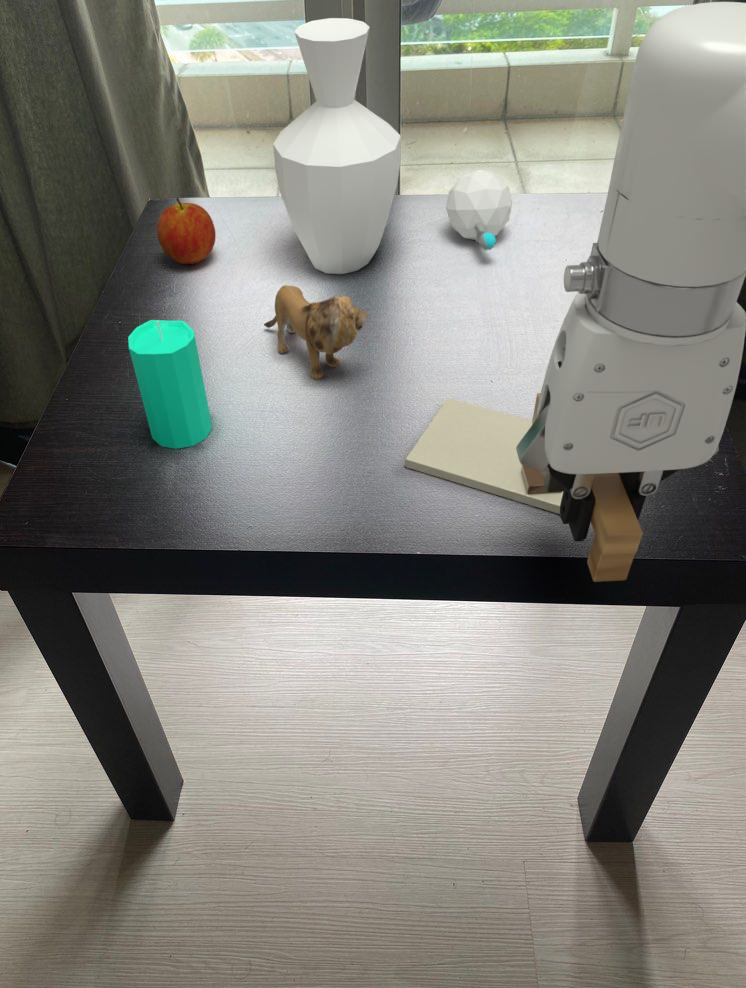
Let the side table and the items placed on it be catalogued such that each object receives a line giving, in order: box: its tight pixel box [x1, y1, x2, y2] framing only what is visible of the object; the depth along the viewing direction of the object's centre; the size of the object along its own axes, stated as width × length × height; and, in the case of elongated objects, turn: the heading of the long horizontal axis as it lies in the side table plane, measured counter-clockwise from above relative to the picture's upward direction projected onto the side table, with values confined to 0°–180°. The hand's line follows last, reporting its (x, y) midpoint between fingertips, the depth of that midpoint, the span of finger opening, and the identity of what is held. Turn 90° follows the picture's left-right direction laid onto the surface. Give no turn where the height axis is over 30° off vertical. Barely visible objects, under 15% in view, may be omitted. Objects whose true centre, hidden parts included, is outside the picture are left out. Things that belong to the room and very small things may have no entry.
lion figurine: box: [263, 284, 368, 380], centre depth 87 cm, size 15×5×9 cm, turn 44°
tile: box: [404, 397, 563, 515], centre depth 77 cm, size 16×10×1 cm, turn 63°
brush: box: [531, 392, 644, 583], centre depth 59 cm, size 14×5×5 cm, turn 3°
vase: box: [272, 17, 402, 275], centre depth 95 cm, size 14×14×25 cm
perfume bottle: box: [445, 168, 513, 251], centre depth 103 cm, size 8×8×12 cm
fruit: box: [156, 197, 216, 265], centre depth 102 cm, size 7×7×8 cm
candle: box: [127, 319, 213, 450], centre depth 78 cm, size 6×6×12 cm
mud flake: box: [521, 465, 560, 494], centre depth 73 cm, size 3×3×1 cm
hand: (595, 524), depth 58 cm, fingers closed on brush
